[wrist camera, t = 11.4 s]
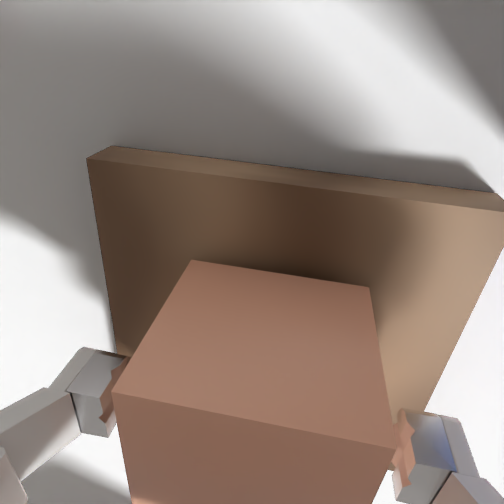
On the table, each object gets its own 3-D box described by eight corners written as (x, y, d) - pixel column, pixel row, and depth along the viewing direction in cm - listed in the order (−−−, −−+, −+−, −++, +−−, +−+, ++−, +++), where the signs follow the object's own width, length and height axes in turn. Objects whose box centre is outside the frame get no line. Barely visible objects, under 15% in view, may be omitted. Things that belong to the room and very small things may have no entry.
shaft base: (141, 388, 18) (69, 525, 13) (111, 145, 12) (-45, 224, 7) (389, 438, 17) (416, 611, 12) (496, 193, 11) (649, 332, 6)
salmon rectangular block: (193, 405, 15) (140, 551, 11) (191, 259, 11) (110, 391, 7) (327, 432, 14) (327, 597, 10) (369, 287, 11) (396, 449, 7)
